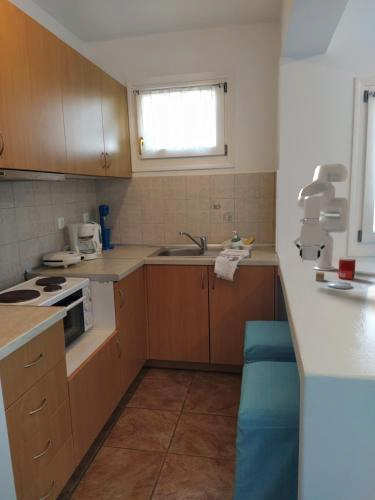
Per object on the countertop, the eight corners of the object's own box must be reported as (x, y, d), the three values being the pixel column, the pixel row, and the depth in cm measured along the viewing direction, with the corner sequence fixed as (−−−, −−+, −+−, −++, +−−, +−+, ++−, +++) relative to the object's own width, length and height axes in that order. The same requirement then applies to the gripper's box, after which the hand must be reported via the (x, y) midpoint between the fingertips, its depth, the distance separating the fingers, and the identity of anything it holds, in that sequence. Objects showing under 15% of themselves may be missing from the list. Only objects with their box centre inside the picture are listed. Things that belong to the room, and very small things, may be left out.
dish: (324, 283, 184) (324, 281, 184) (346, 283, 184) (346, 281, 183) (330, 288, 174) (330, 286, 173) (354, 289, 173) (354, 286, 172)
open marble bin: (302, 259, 184) (303, 244, 183) (317, 260, 182) (317, 245, 181) (301, 262, 178) (302, 246, 177) (317, 263, 175) (317, 247, 174)
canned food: (355, 280, 190) (357, 259, 188) (339, 279, 192) (340, 259, 190) (352, 277, 197) (353, 257, 196) (336, 276, 199) (337, 256, 197)
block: (315, 279, 193) (316, 272, 193) (323, 279, 192) (324, 272, 192) (315, 281, 190) (316, 273, 189) (323, 281, 188) (324, 274, 188)
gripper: (292, 222, 176) (290, 258, 179) (330, 222, 171) (328, 260, 173) (293, 221, 183) (292, 256, 186) (330, 221, 178) (328, 257, 180)
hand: (309, 257), depth 180 cm, fingers closed on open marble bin, 7 cm apart
